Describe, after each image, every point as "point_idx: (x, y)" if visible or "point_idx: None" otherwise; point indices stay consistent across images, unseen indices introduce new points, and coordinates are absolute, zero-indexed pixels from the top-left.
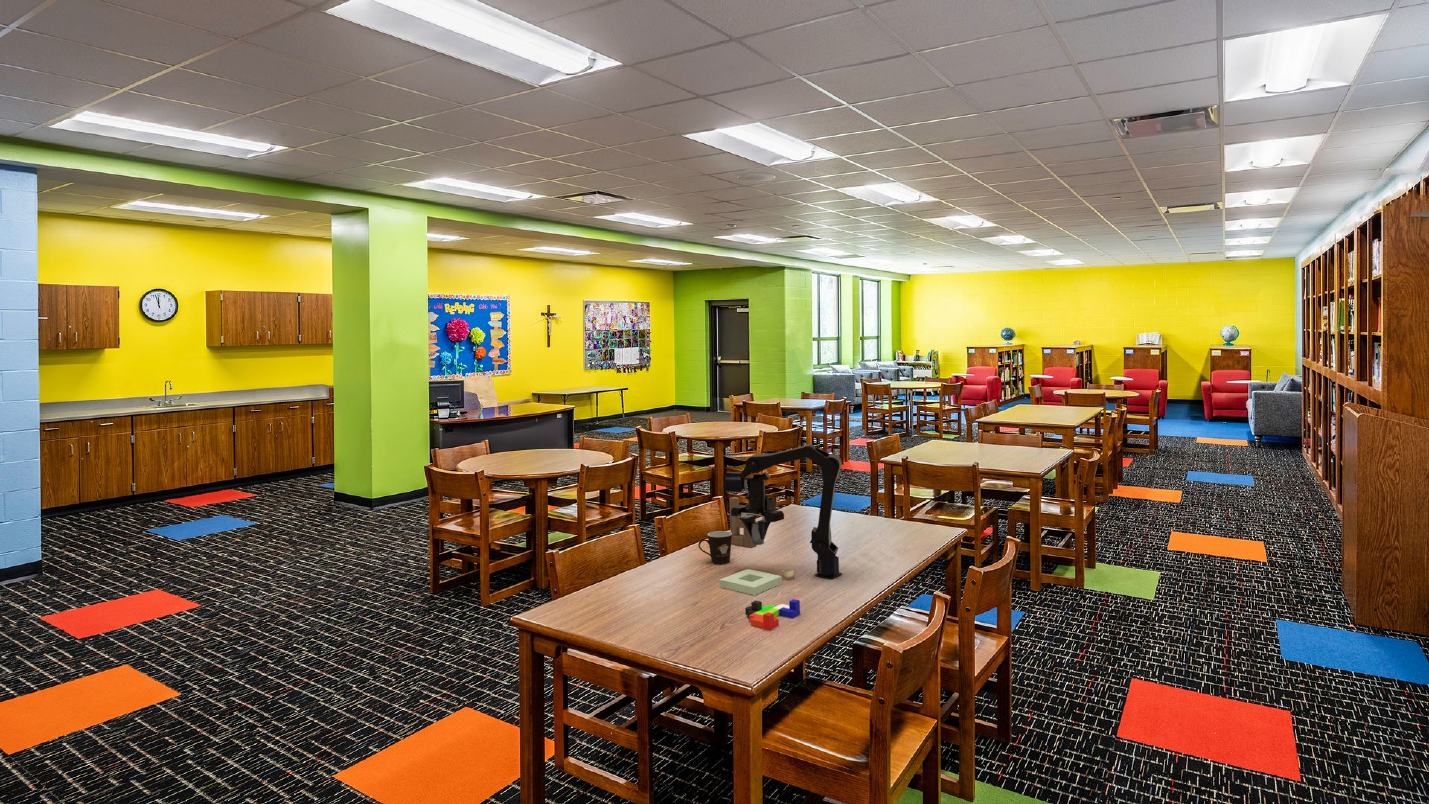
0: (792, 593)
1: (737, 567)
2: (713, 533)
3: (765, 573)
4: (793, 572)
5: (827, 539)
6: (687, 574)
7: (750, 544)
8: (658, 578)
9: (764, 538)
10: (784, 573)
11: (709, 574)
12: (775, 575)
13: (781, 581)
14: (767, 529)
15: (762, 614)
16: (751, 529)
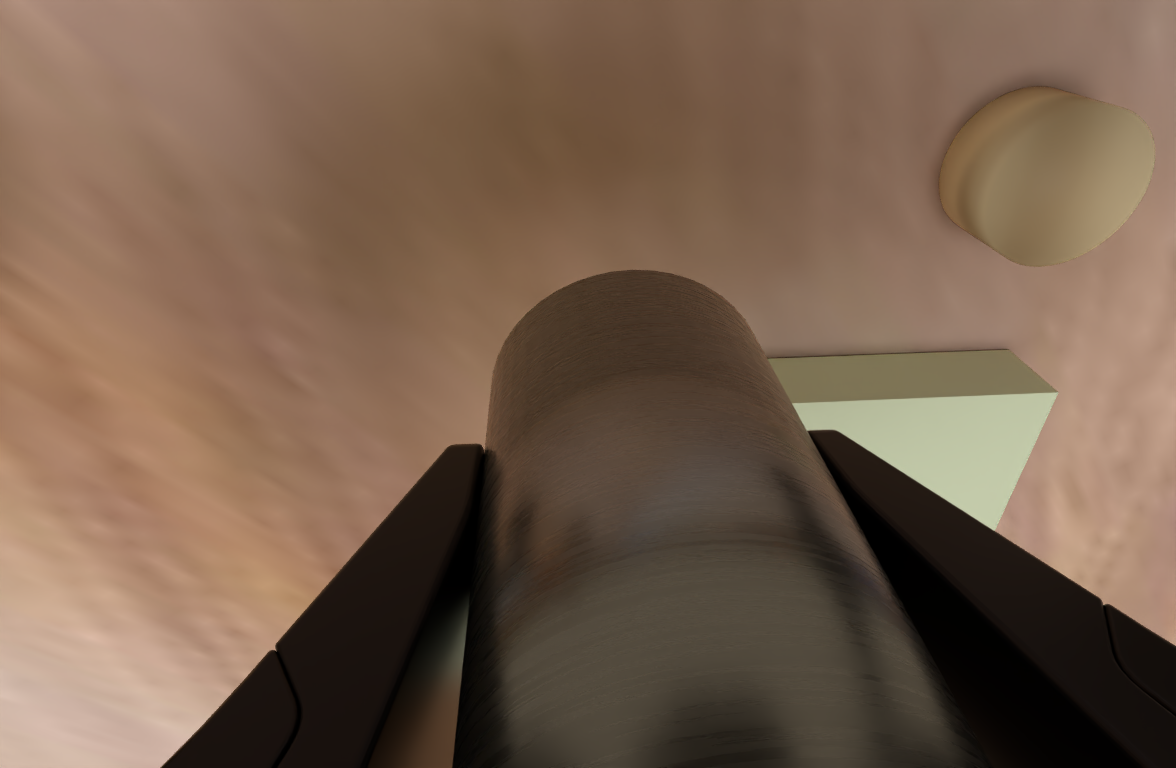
0: (1165, 468)
1: (210, 178)
2: None
3: (853, 417)
4: (1145, 172)
5: None
6: (110, 599)
7: None
8: (76, 733)
9: (848, 442)
10: (1036, 262)
11: (241, 510)
12: (982, 408)
13: (1021, 368)
14: (1124, 617)
15: None
16: (446, 718)
